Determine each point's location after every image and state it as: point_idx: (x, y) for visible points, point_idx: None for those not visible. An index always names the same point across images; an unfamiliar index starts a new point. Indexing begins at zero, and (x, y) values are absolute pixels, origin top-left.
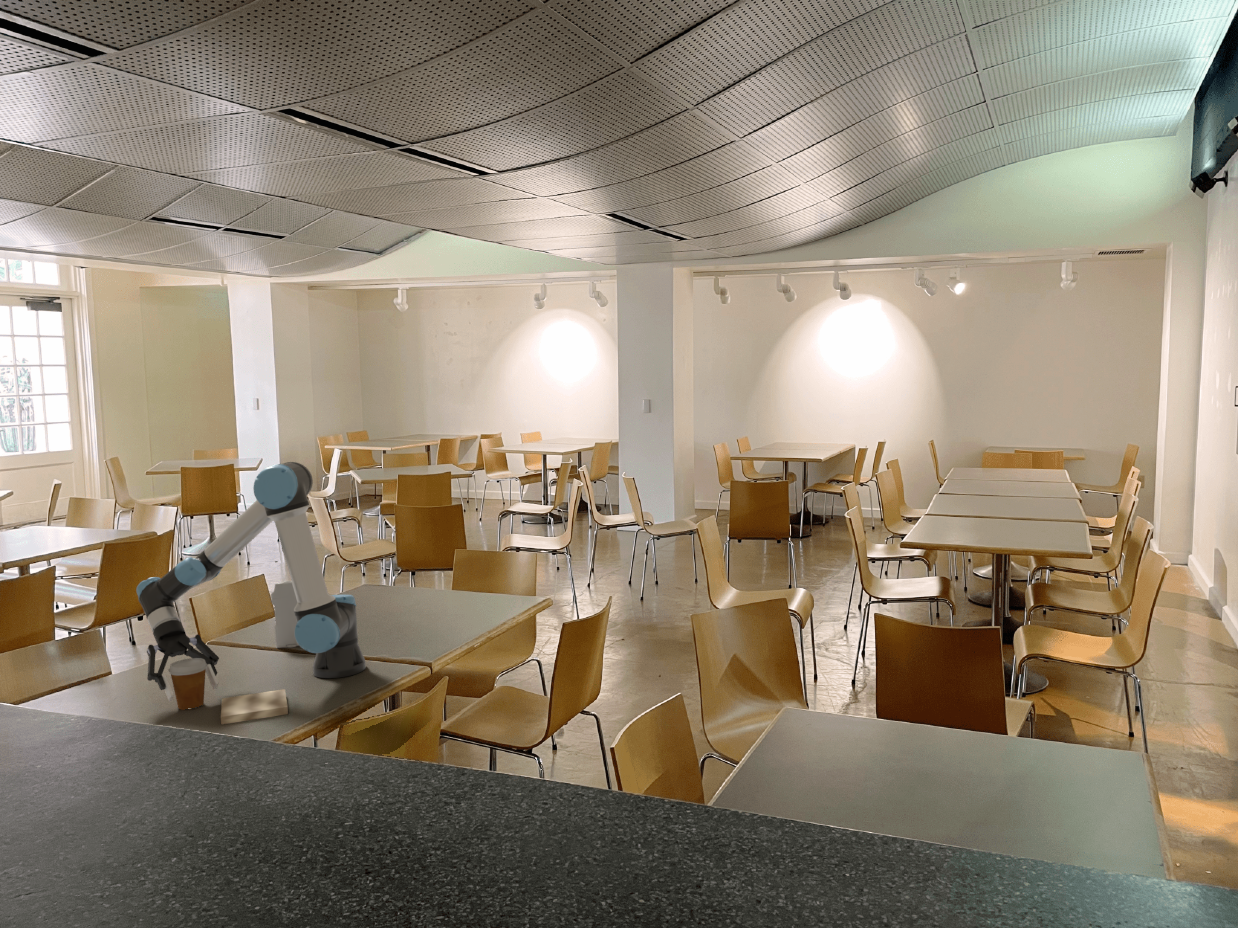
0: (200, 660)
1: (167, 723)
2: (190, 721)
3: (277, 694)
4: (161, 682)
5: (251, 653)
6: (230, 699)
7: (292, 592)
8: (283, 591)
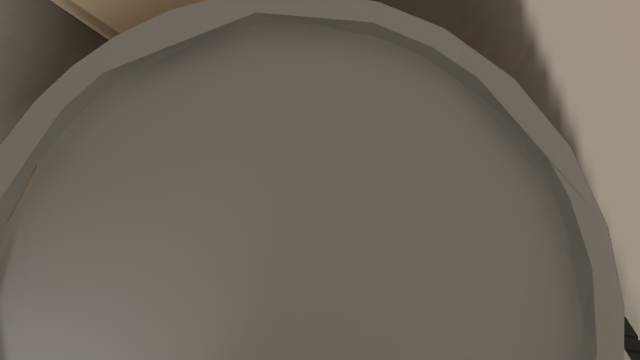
0: (12, 282)
1: (548, 113)
2: (455, 25)
3: None
4: (627, 352)
5: None
6: (171, 1)
7: None
8: None
